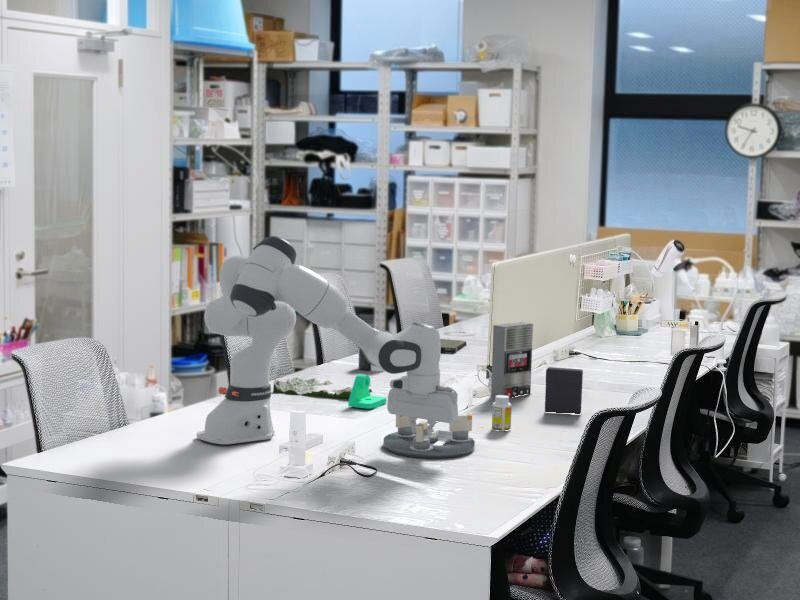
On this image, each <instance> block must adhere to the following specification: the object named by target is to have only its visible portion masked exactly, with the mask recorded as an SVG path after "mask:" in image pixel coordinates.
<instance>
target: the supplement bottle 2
mask: <svg viewBox="0 0 800 600" xmlns="http://www.w3.org/2000/svg"><path fill="white" fill-rule="evenodd" d="M491 411H492V412H491V413H492V416H491V430H492V429H494V430H499V431H505V430H509V429H511V428H512V403H511V402H510V399H509V396H505V395H497V396H496V397H495V398H494V401H493V403H492V409H491Z"/></svg>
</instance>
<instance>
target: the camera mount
mask: <svg viewBox="0 0 800 600" xmlns="http://www.w3.org/2000/svg"><path fill="white" fill-rule="evenodd" d="M370 385H371V378H370V375H368V374H367V375H366V374H360V373H358V374H356V376H355V378H354V382H353V385H352V387H351V388H352V391H351V394H350V398H349V400H347V401H348V403H347V404H348V405H347V406H348V407H352V408H353V407H354V408H359V409H366V410H369V409H377V408H379V407H381V406H383V405H385V404H386V403H387V397H385V396H378V395H371V392H370V391H369V389H370V388H369V387H371V386H370Z"/></svg>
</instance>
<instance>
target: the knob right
mask: <svg viewBox="0 0 800 600" xmlns="http://www.w3.org/2000/svg"><path fill="white" fill-rule="evenodd" d="M448 425H449V428H448V429H449V430H448V431H449V432H452V438H453V439H457V440H465V439H468V436H469V432H472V430H473V415H472V414H471V413H468V414H466V413H465V414H458V419H457V420H456V421H455V422H453V423H448Z"/></svg>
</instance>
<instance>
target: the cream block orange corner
mask: <svg viewBox="0 0 800 600" xmlns="http://www.w3.org/2000/svg"><path fill="white" fill-rule="evenodd" d="M415 421H416V422H417V420H415ZM395 428H397V432H398V434H400V435H412V427H411V425H410V423H409V417H407V416H401V415H395Z"/></svg>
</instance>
